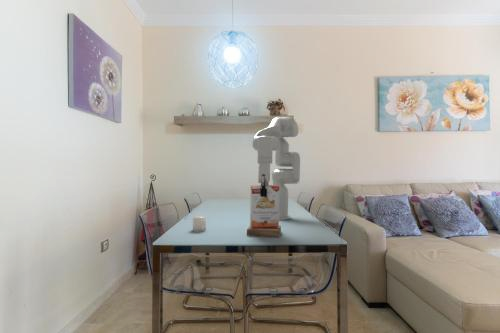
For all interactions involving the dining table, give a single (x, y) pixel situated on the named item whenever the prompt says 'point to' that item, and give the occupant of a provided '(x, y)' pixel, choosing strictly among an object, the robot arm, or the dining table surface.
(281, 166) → the robot arm
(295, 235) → the dining table surface
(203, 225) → the white small block
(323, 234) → the dining table surface
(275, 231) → the plinth
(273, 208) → the cracker box
